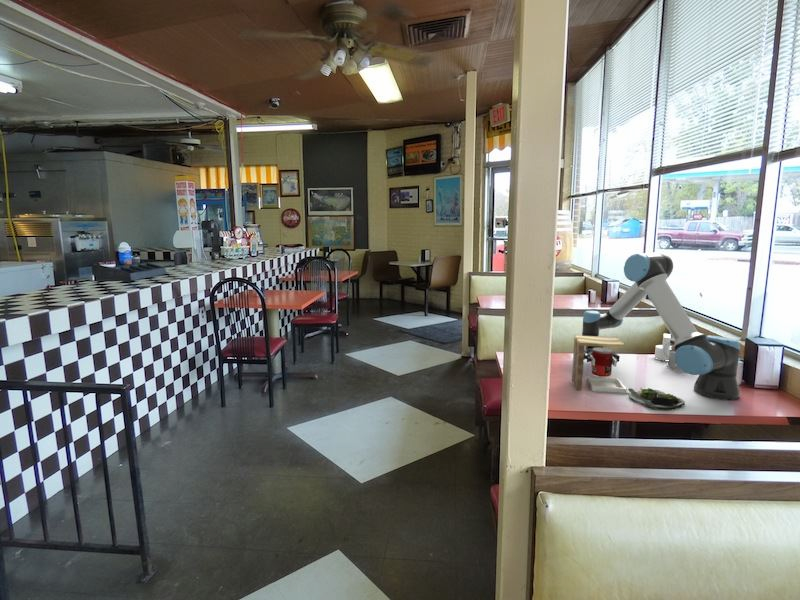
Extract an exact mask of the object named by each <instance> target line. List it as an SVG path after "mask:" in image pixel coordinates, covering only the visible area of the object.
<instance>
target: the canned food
mask: <svg viewBox="0 0 800 600" xmlns="http://www.w3.org/2000/svg"><path fill="white" fill-rule="evenodd" d="M613 352H614V350H613V349H611V348H609V347H596V348H593V355H592V356H593V357H594V359H595V366H593V365H592V364H591V374H592V375H594V376H595V377H608V378H610V376H611V375H612V368H613V364H612V358H613Z"/></svg>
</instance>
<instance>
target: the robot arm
mask: <svg viewBox="0 0 800 600" xmlns="http://www.w3.org/2000/svg"><path fill="white" fill-rule="evenodd" d="M673 269H674V262H673V260H672V258H671V257H670V256H669V255H668V254H667V253H664V252H661V251H654V252H639V253H634V254H631V255H630V256H628V257H627V259H626V260H625V262H624V266H623V273H624V276H625V278H626V279H627V280H629V281H631V282H633V284H631V286H630V287H629V288H627V290H626V291H625V292H624V293H623V295H622V296H621V297H619V298H618V299H617V301H616V302H615V303H613V305H612V306H611V307H610V308H609V309H608V310H607V311H606V312H605V313H601V312H600V311H597V310H586V311H584V312H583V315H582V316H583V317H582V332H581V334H582V335H581V336H599V335H600V330H607V329H611V328H612V329H615V328H617V327H620V326H621V325H622V324H623V320H624V318H625V317H626V316H627V315H628V314H630V312H631V311H632V310H633V309H634V308H635V307H636V306H637V305H638V304H639V303H640V302H641V301H642V300H644V298H646V297H648V298H649V300H650V302H651V304H652V305H653V307H654V308H655V310H656V311H657V314H658V315H659V317H660V318H661V320H662V322H663V324H664V325H665V327H666V329H667V330H668V332H669V334H671V338H673V339H674V340H675V342H674V344H673V347H674V349H675V350H676V352H675V362H676V364H677V366H678V367H679V368H680V369H681V370H682V371H684V372H683V373H686V374H688V375H691V376H698V377H697V378H696V381H695V382H694V385H693V390H694V391H695V392H696V393H698V394H699V395H702V396H704V397H708V398H711V397H712V398H713V399H716V398H718V399H717V400H723V399H734V400H737V399H736V398H738V397H739V398H740V393H741V390H740V386H739V383H738V380H737V373H738V367H739V366H738V365H739V359H740V354H741V342H740V341H738V340H736V339H734V338H730V337H724V336H718V335H712V334H711V335H706V334H704V333H701V332H699V331H698V330H697V328H696V327H695V325H694V323H693V322H692V321H691V319H690V317H689V316H688V314H687V313H686V310H685V309H684V307H683V306H682V304H681V303H680V301H679V300H678V298H677V296H676V294H675V293H674V291H673V290H672V288H671V287H670V285H669V283H668V282H667V279H668V278H669V277H670V275H671V274H672V272H673ZM596 347H600V346H585V348H584V361H585V360H586V362H587V363H590V364H591V366H592V365H593V366H595V359H594V357H593V356H592V355H593V348H596ZM620 356H621V355H619V354H618V353H615V352H614V351H613V358H612V367H615V368H616V367H617V363H618V362H620ZM682 371H681V372H682ZM712 398H711V399H712ZM739 398H738V399H739Z"/></svg>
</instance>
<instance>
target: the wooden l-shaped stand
mask: <svg viewBox="0 0 800 600" xmlns="http://www.w3.org/2000/svg"><path fill="white" fill-rule="evenodd" d="M573 340H574V341H573V357H572V369H571V370H572V374H571V381H572V383H574V384H573V385H575V386H574V388H575V387H576V388H575V390H576V391H582V390H583V389H582V388H583V376H584V374H583V373H584V361H585V360H584V348H585V346H600V347H603V348H624V349H625V347H626V344H625V343H624V342H623V341H622V340H621V339H619V337H618V336H616V337H615V336H582V335H577V334H576V335H574V339H573Z"/></svg>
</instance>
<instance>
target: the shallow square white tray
mask: <svg viewBox="0 0 800 600" xmlns="http://www.w3.org/2000/svg"><path fill="white" fill-rule="evenodd" d="M585 377H586V378H585V381H586V383H587V385H588V386H589V389H590V390H591V392H597V393H608V394H609V393H611V394H615V393H616V394H625V395H626V394H628V393H627V392H628V388H627V387H626V386H625V385H624V384H623V383H622V381H621V380H620V378H618V377H600V376H592V375H591V376H590V375H589V376H588V375H587V376H585Z"/></svg>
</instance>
